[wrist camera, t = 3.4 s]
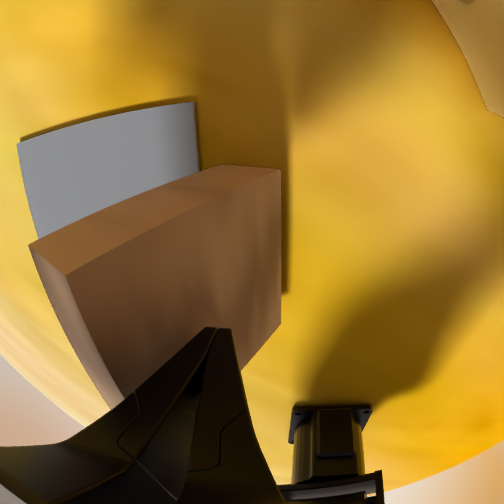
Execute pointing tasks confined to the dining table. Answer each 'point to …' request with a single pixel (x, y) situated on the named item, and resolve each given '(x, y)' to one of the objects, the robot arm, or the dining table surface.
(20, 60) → the dining table surface
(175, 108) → the grey mat
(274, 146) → the dining table surface
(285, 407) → the dining table surface
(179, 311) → the walnut slab
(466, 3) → the cheese
